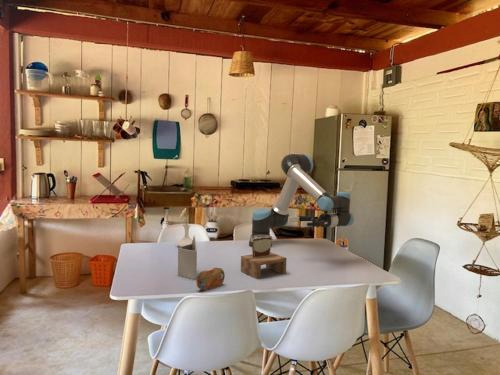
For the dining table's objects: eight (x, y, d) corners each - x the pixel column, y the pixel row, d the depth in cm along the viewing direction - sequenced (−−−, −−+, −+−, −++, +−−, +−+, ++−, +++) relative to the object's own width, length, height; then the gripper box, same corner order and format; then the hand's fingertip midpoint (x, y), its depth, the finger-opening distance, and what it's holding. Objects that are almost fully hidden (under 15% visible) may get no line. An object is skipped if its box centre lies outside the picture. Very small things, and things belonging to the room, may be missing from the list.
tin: (199, 292, 171) (200, 273, 170) (194, 290, 173) (195, 271, 172) (224, 284, 182) (225, 266, 182) (220, 283, 184) (220, 265, 184)
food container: (265, 252, 211) (265, 233, 210) (272, 255, 205) (272, 236, 205) (245, 255, 204) (245, 235, 203) (251, 258, 199) (252, 238, 198)
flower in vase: (180, 244, 258) (181, 205, 256) (197, 245, 257) (198, 206, 254) (173, 248, 245) (174, 208, 243) (191, 250, 244) (192, 209, 241)
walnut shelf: (240, 271, 203) (241, 256, 202) (268, 266, 213) (269, 251, 212) (257, 279, 191) (257, 262, 191) (285, 273, 202) (286, 257, 201)
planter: (176, 270, 202) (177, 232, 200) (192, 269, 204) (193, 232, 202) (179, 280, 186) (179, 239, 184) (196, 279, 188) (197, 239, 187)
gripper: (341, 231, 212) (306, 233, 204) (315, 222, 235) (283, 224, 226) (341, 217, 211) (307, 219, 203) (316, 210, 234) (284, 211, 226)
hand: (294, 221), depth 215 cm, fingers open, 13 cm apart
